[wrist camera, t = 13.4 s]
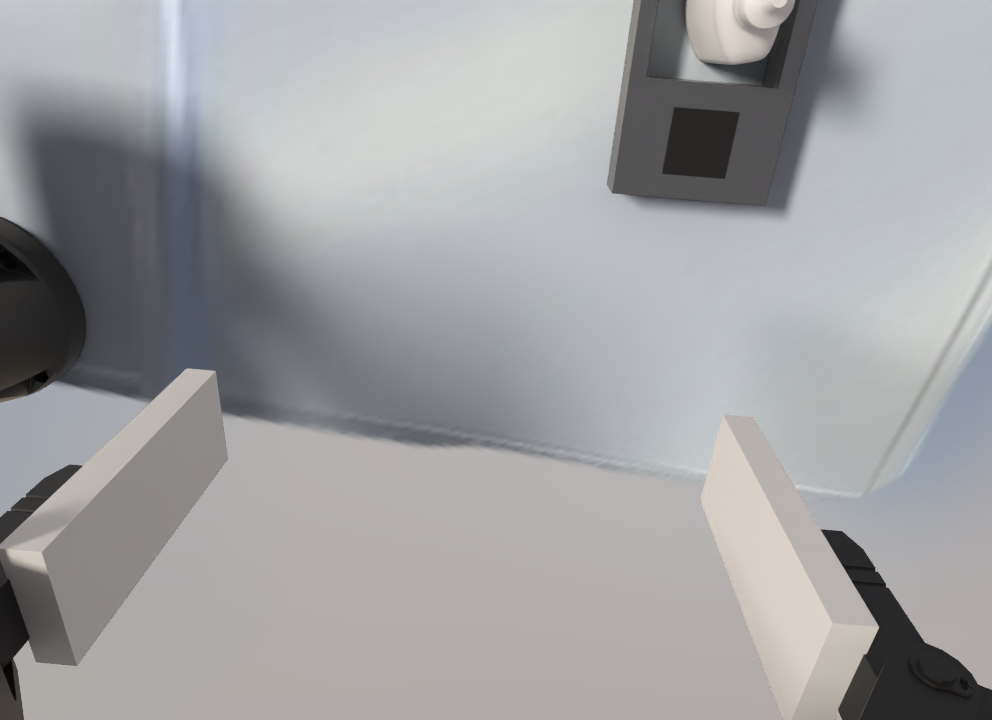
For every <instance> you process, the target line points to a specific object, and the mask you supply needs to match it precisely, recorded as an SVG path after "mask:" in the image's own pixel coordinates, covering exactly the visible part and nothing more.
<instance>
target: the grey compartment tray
mask: <svg viewBox="0 0 992 720" xmlns="http://www.w3.org/2000/svg"><path fill="white" fill-rule="evenodd" d="M817 2H818V0H795V2H794V4H795V5H793V6H794V8H792V11H791V13H790V14H789V16H788V18H786V20H785V21H783V23H781V25H780V26H779V29H778V33H777V36H776V38H775V41H774V43H773V46H772V48H771V50H770V55H769V59H768V63H767V67H766V72H765V76H764V80H763V85H762V86H758V85H746V84H733V83H721V82H709V81H696V80H684V79H672V78H659V77H647V76H646V75H647V69H648V63H649V56H650V50H651V44H652V38H653V32H654V25H655V19H656V13H657V7H658V0H634V3H633V10H632V17H631V24H630V31H629V38H628V44H627V51H626V58H625V65H624V72H623V79H622V86H621V92H620V99H619V106H618V113H617V120H616V127H615V134H614V140H613V147H612V154H611V161H610V168H609V175H608V182H607V185H608V187H609V189H610V190H611V192H612V193H616V194H628V195H640V196H652V197H664V198H676V199H688V200H700V201H712V202H724V203H736V204H749V205H761V206H765V205H766V201H767V197H768V193H769V189H770V185H771V181H772V177H773V173H774V169H775V166H776V162H777V158H778V154H779V150H780V146H781V142H782V138H783V134H784V130H785V126H786V123H787V119H788V115H789V111H790V107H791V103H792V99H793V95H794V91H795V87H796V84H797V80H798V76H799V72H800V68H801V64H802V60H803V56H804V52H805V48H806V44H807V41H808V37H809V33H810V29H811V25H812V21H813V17H814V13H815V9H816V5H817Z"/></svg>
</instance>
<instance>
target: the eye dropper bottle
mask: <svg viewBox="0 0 992 720" xmlns="http://www.w3.org/2000/svg"><path fill="white" fill-rule="evenodd" d="M794 2H795V0H686V11H685V14H686V27H687V33H688V37H689V40H690V44H691V46H692V49H693V51H694V53H695V55H696V57H697V59H699V60H700V61H701V62H705V63H715V64H727V65H737V64H744V63H749V62H754V61H758V60H761V59H763V58H765V57H766V56H767V54H768V53H769V52H770V50H771V48H772V46H773V43H774V41H775V38H776V36H777V33H778V29H779V26H780V25H781V23H783V21H785V20H786V18H788V16H789V14H790V13H791V11H792V8H794V6H793V5H795V4H794Z"/></svg>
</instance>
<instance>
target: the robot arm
mask: <svg viewBox="0 0 992 720" xmlns="http://www.w3.org/2000/svg"><path fill="white" fill-rule="evenodd" d="M84 338H85V319H84V313H83V309H82V305H81V302H80V299H79V296H78V294H77V292H76V289H75V287H74V285H73V283H72V282H71V280H70V278H69V277H68V275H67V274H66V272H65V271H64V269H63V268H62V266H61V265H60V264H59V263H58V261H57V260H56V259H55V258H54V257H53V256H52V255H51V254H50V252H49V251H48V250H47V249H45V248H44V247H43V246H42V245H41V244H40V243H39V242H38V241H37V240H35V239H34V238H33V237H31V236H30V235H29V234H27V233H26V232H25V231H23V230H22V229H20V228H18V227H17V226H15V225H13V224H11V223H10V222H8V221H6V220H4V219H1V218H0V402H4V401H8V400H12V399H16V398H20V397H24V396H27V395H30V394H33V393H35V392H37V391H40V390H41V389H43V388H45V387H47V386H48V385H49V384H51V383H52V382H54V381H55V380H57V379H58V378H59V377H61V376H62V375H64V374H65V373H66V372H67V371H68V370H69V369H70V368H71V367H72V366H73V365H74V364H75V362H76V361H77V359H78V357H79V355H80V353H81V350H82V348H83V344H84ZM227 458H228V457H227V450H226V442H225V435H224V427H223V420H222V413H221V405H220V398H219V390H218V383H217V375H216V371H211V370H200V369H188V368H186V369H185V370H184V371H183V372H182V373H181V374H180V375H179V376H178V377H177V378H176V379H175V380H174V381H173V382H172V383H171V384H169V385H168V386H167V387H166V388H165V389H164V390H163V391H162V392H161V393H160V394H159V395H158V396H157V397H156V398H155V399H154V400H152V401H151V402H150V403H149V404H148V405H147V406H146V407H145V408H144V409H143V410H142V411H141V412H140V413H139V414H138V415H137V416H136V417H135V418H133V419H132V420H131V421H130V422H129V423H128V424H127V425H126V426H125V427H124V428H123V429H122V430H121V431H120V432H119V433H118V434H116V435H115V436H114V437H113V438H112V439H111V440H110V441H109V442H108V443H107V444H106V445H105V446H104V447H103V448H102V449H101V450H100V451H98V452H97V453H96V454H95V455H94V456H93V457H92V458H91V459H90V460H89V461H88V462H87V463H86V464H85V465H84V466H79V465H68V466H66V467H64V468H63V469H61V470H59V471H57V472H55V473H53V474H51V475H49V476H47V477H46V478H44V479H43V480H42V481H41V482H39V483H38V484H37V485H36V486H35V487H34V488H33V489H32V490H30V492H28V493H27V494H26V497H25V498H21V499H20V500H19V501H18V502H17V503H16V504H15V505H14V506H13V507H12V508H11V511H7V512H6V513H5V514H4V515H3V516H1V517H0V720H24V717H23V709H22V701H21V693H20V686H19V679H18V671H17V668H16V665H15V662H14V660H13V657H14V656H15V655H16V654H17V652H18V651H19V650H20V649H21V648H22V647H23V645H24V644H25V643H26V642H27V640H28V641H29V643H30V646H31V649H32V652H33V655H34V658H35V660H36V662H40V663H51V664H62V665H74V666H77V665H78V664H79V663H80V661H81V660H82V658H83V657H84V656H85V654H86V653H87V652H88V650H89V649H90V647H91V646H92V644H93V643H94V642H95V641H96V639H97V638H98V636H99V635H100V634H101V632H102V631H103V629H104V628H105V627H106V625H107V624H108V623H109V621H110V620H111V619H112V617H113V616H114V614H115V613H116V612H117V610H118V609H119V608H120V606H121V605H122V604H123V602H124V600H125V599H126V598H127V597H128V595H129V594H130V593H131V591H132V590H133V588H134V587H135V586H136V584H137V583H138V582H139V580H140V578H141V577H142V576H143V575H144V573H145V572H146V571H147V569H148V568H149V566H150V565H151V564H152V562H153V561H154V560H155V558H156V556H157V555H158V554H159V553H160V551H161V550H162V549H163V547H164V546H165V544H166V543H167V542H168V540H169V539H170V538H171V536H172V535H173V534H174V532H175V531H176V529H177V528H178V527H179V525H180V524H181V523H182V521H183V519H184V518H185V517H186V516H187V514H188V513H189V512H190V510H191V509H192V507H193V506H194V505H195V503H196V502H197V501H198V499H199V498H200V496H201V495H202V494H203V492H204V491H205V490H206V488H207V487H208V485H209V484H210V483H211V481H212V480H213V479H214V477H215V476H216V474H217V473H218V472H219V470H220V469H221V468H222V466H223V465H224V463H225V462H226V461H227ZM700 501H701V504H702V506H703V509H704V511H705V514H706V517H707V519H708V522H709V525H710V527H711V530H712V533H713V535H714V538H715V541H716V543H717V546H718V549H719V551H720V554H721V557H722V559H723V562H724V565H725V567H726V570H727V573H728V575H729V578H730V581H731V583H732V586H733V589H734V591H735V594H736V597H737V599H738V602H739V605H740V607H741V610H742V613H743V615H744V618H745V621H746V623H747V626H748V629H749V631H750V634H751V636H752V639H753V642H754V644H755V647H756V650H757V652H758V655H759V658H760V661H761V663H762V666H763V669H764V671H765V674H766V676H767V679H768V682H769V684H770V687H771V690H772V692H773V695H774V698H775V700H776V703H777V706H778V708H779V711H780V714H781V716H782V719H783V720H836V718H837V716H838V714H839V713H840V716H841V718H842V720H992V690H991V689H988V688H985V687H982V686H980V685H978V684H977V682H976V681H975V679H974V677H973V675H972V674H971V673H970V672H969V671H968V670H967V669H966V668H965V667H964V666H963V665H962V664H961V663H960V662H959V661H958V660H956V659H955V658H953V657H952V656H950V655H949V654H947V653H946V652H944V651H943V650H941V649H938V648H936V647H933V646H931V645H929V644H926V643H925V642H924V641H923V639H922V638H921V636H920V635H919V633H918V632H917V631H916V629H915V627H914V626H913V624H912V623H911V621H910V620H909V618H908V617H907V615H906V614H905V612H904V611H903V609H902V608H901V606H900V605H899V603H898V602H897V600H896V599H895V597H894V595H893V594H892V593H891V591H890V589H889V588H886V583H885V582H884V580H883V579H882V577H881V576H880V574H879V573H878V572H876V571H875V567H874V565H873V564H872V562H871V561H870V559H869V558H868V556H867V555H866V553H865V552H864V550H863V549H862V548H861V547H860V546H859V545H857V544H856V543H855V542H854V541H853V540H852V539H850V538H849V537H848V536H847V535H846V534H845V533H843V532H842V531H832V530H821V529H820V528H819V526H818V525H817V523H816V521H815V520H814V518H813V516H812V515H811V513H810V511H809V510H808V508H807V507H806V505H805V503H804V501H803V500H802V498H801V496H800V495H799V493H798V491H797V490H796V488H795V486H794V485H793V483H792V481H791V480H790V478H789V476H788V475H787V473H786V471H785V470H784V468H783V466H782V465H781V463H780V461H779V460H778V458H777V456H776V455H775V453H774V451H773V450H772V448H771V446H770V445H769V443H768V441H767V440H766V438H765V436H764V435H763V433H762V431H761V430H760V428H759V426H758V425H757V423H756V421H755V420H754V418H753V417H742V416H730V415H723V418H722V422H721V425H720V429H719V433H718V437H717V440H716V444H715V448H714V452H713V455H712V459H711V463H710V467H709V470H708V474H707V478H706V482H705V485H704V489H703V493H702V497H701V500H700Z"/></svg>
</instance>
